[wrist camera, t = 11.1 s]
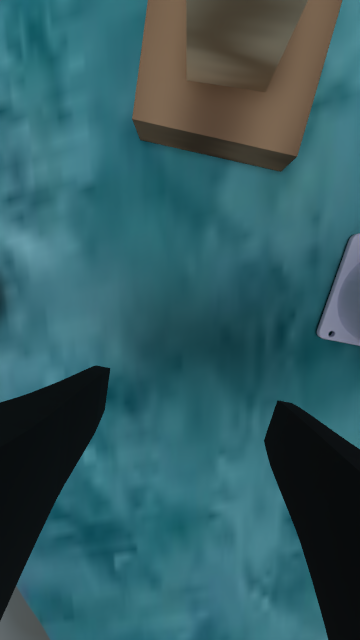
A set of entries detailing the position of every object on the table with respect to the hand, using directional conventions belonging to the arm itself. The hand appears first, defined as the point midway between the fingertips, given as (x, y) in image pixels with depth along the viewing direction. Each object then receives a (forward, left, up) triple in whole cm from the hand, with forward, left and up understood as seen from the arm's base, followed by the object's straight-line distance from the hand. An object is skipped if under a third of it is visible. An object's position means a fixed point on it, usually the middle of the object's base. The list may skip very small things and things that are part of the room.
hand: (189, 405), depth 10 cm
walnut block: (+1, -18, -10) cm, 21 cm away
